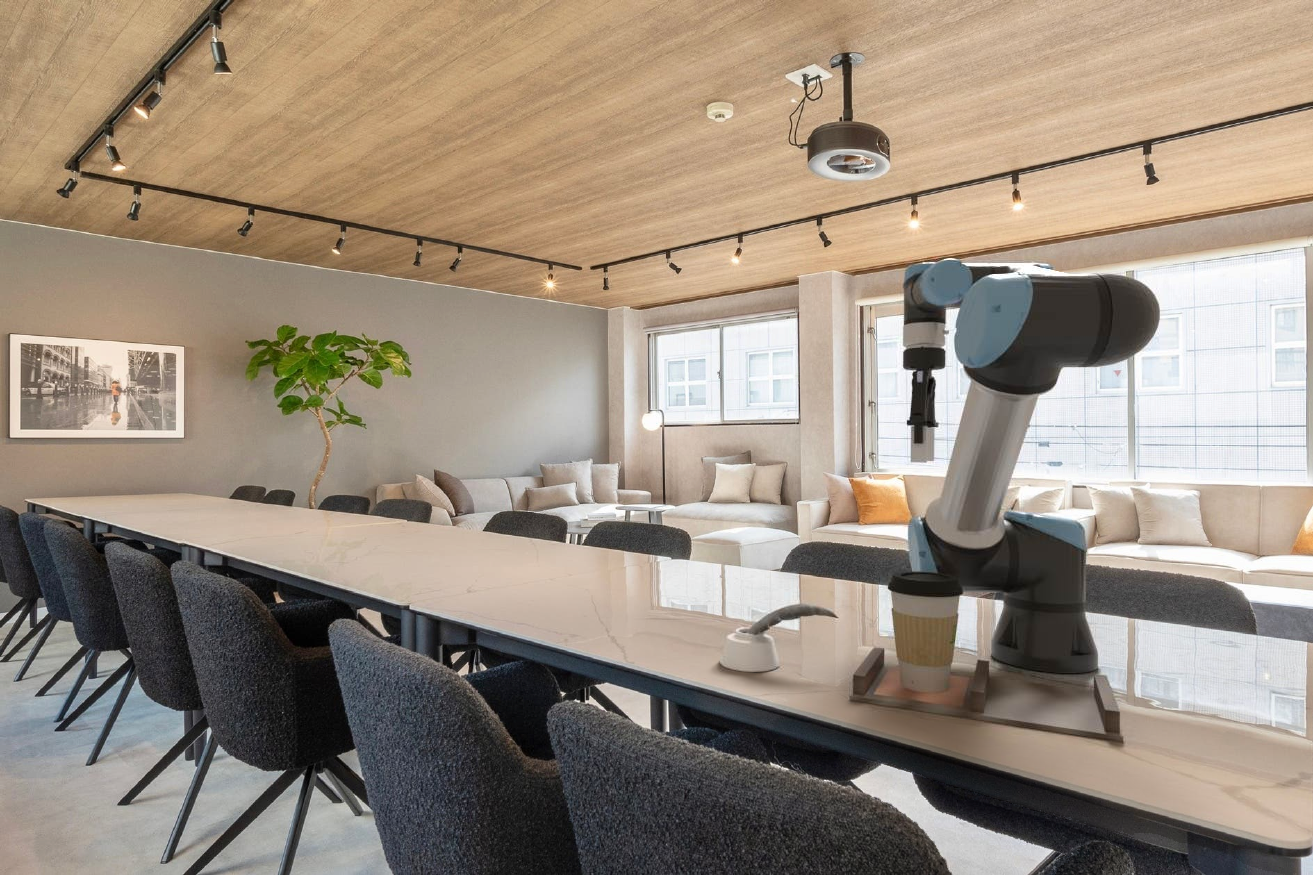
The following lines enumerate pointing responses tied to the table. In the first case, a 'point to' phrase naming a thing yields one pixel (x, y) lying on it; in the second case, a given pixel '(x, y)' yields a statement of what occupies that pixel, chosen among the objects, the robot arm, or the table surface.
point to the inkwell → (762, 640)
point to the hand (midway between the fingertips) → (922, 461)
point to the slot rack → (996, 699)
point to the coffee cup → (925, 627)
